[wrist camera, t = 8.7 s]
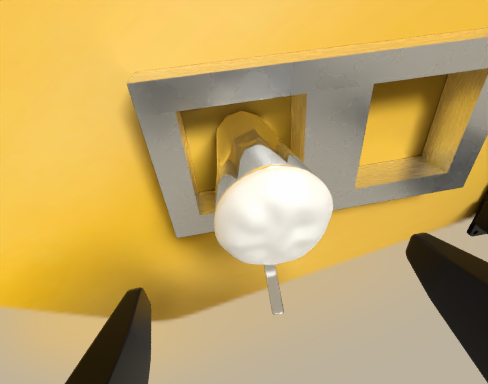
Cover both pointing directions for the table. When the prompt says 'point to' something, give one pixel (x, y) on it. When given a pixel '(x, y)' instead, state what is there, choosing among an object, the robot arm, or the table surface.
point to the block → (324, 116)
